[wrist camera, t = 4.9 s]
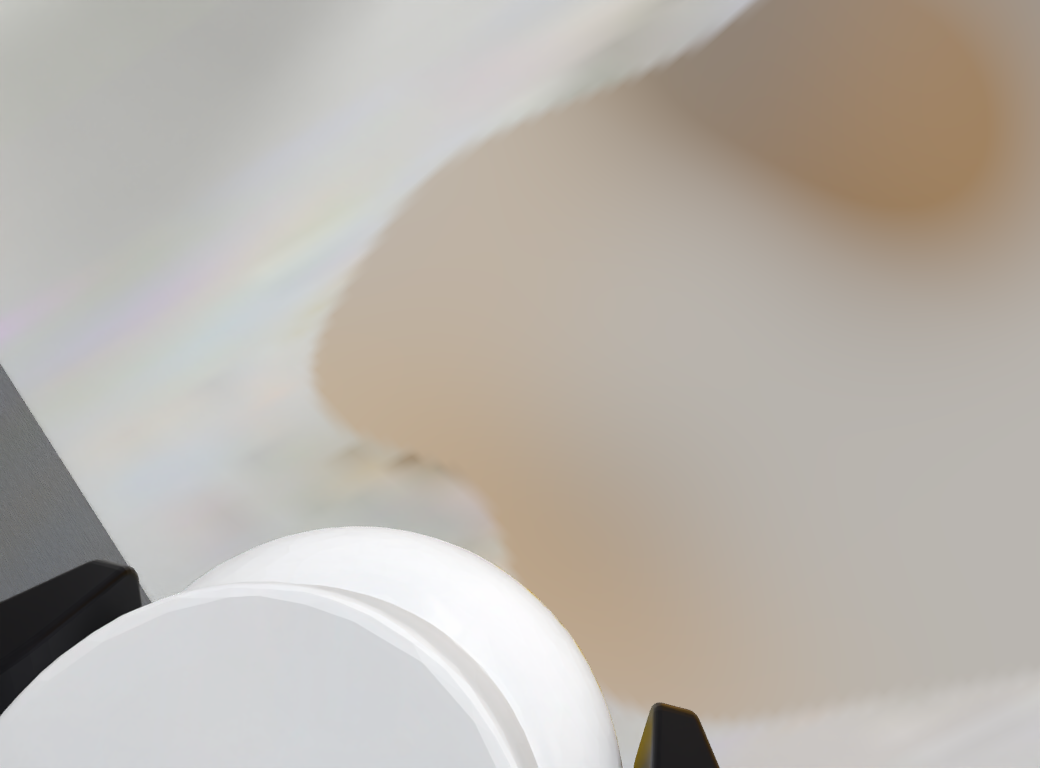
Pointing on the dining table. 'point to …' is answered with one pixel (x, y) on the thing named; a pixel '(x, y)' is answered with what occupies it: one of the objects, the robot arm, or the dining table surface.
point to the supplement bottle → (323, 669)
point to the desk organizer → (41, 506)
